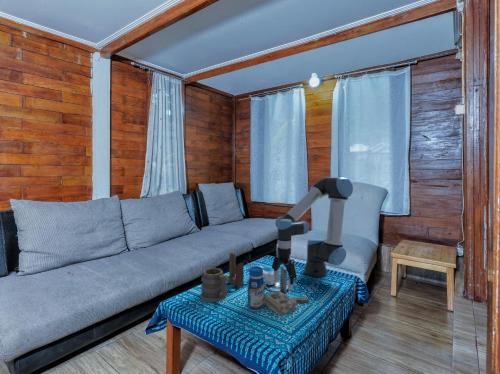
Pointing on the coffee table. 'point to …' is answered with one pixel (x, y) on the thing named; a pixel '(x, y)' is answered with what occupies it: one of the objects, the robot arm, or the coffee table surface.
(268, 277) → the bone shaped toy
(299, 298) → the walnut slat
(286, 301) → the socket block
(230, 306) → the coffee table surface
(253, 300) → the beverage bottle
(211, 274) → the tankard
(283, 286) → the peg
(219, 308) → the coffee table surface
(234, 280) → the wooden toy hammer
